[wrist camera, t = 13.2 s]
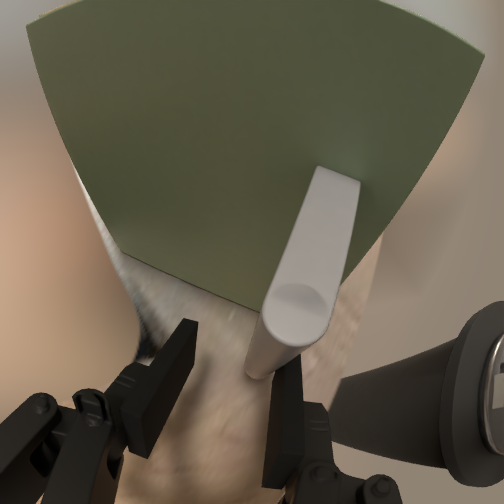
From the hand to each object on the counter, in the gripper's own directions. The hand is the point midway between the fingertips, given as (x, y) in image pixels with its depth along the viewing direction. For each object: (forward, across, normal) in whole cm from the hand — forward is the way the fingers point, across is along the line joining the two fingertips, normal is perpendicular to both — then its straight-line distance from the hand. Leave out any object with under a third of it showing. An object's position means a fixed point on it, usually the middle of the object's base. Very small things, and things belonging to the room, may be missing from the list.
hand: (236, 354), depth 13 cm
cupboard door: (+8, -5, -3) cm, 10 cm away
